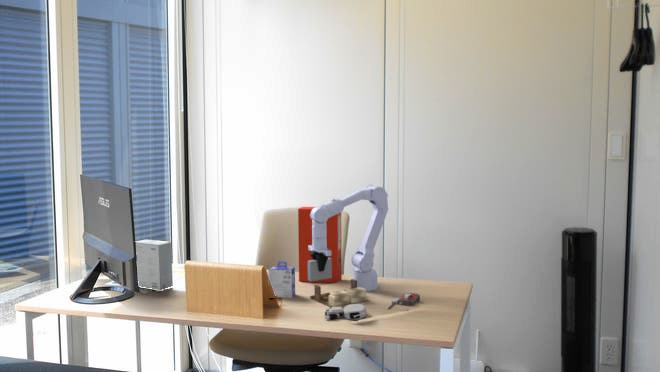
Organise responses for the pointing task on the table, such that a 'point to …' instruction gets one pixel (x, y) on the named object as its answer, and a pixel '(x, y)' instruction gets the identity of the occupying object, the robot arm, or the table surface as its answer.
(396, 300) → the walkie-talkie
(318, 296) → the walnut rack
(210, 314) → the table surface
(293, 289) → the ink cartridge box
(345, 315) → the robot toy
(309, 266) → the grey rectangular slab
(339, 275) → the file binder
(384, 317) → the table surface
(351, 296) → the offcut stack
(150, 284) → the hard drive box
